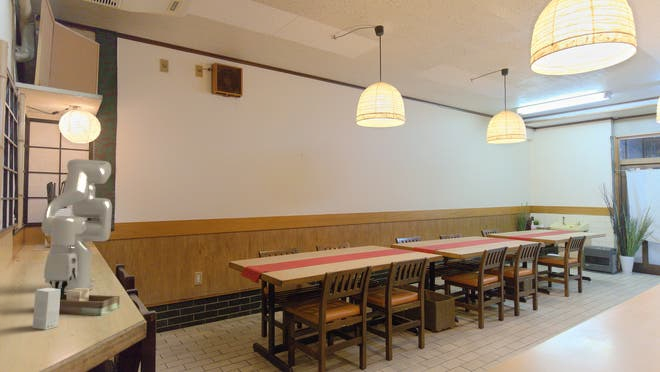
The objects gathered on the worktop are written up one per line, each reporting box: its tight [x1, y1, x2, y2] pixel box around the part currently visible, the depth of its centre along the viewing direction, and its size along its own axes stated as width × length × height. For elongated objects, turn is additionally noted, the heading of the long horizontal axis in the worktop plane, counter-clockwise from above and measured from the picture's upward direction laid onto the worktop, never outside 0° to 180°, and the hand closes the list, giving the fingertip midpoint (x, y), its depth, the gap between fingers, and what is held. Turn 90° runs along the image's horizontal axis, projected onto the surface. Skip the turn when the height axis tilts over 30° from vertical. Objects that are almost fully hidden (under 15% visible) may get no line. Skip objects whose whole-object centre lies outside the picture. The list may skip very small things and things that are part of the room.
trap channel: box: [59, 293, 121, 317], centre depth 141 cm, size 10×25×4 cm, turn 87°
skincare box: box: [32, 287, 61, 331], centre depth 121 cm, size 6×4×12 cm
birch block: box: [66, 288, 90, 301], centre depth 141 cm, size 5×5×5 cm
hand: (58, 299), depth 142 cm, fingers closed
